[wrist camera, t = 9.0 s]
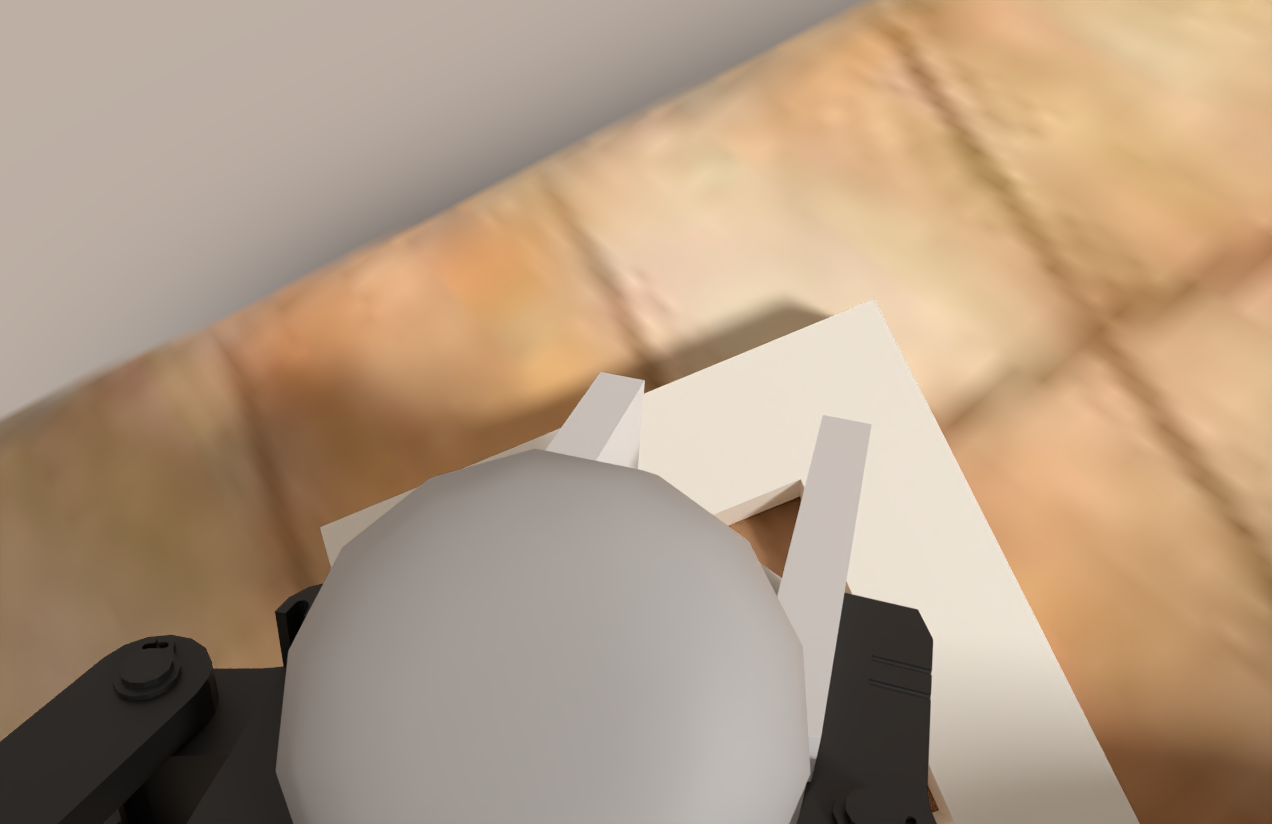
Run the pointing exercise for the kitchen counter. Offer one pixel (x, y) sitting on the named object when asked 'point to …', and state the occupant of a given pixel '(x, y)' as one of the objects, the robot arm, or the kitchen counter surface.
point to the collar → (886, 555)
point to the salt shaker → (545, 661)
